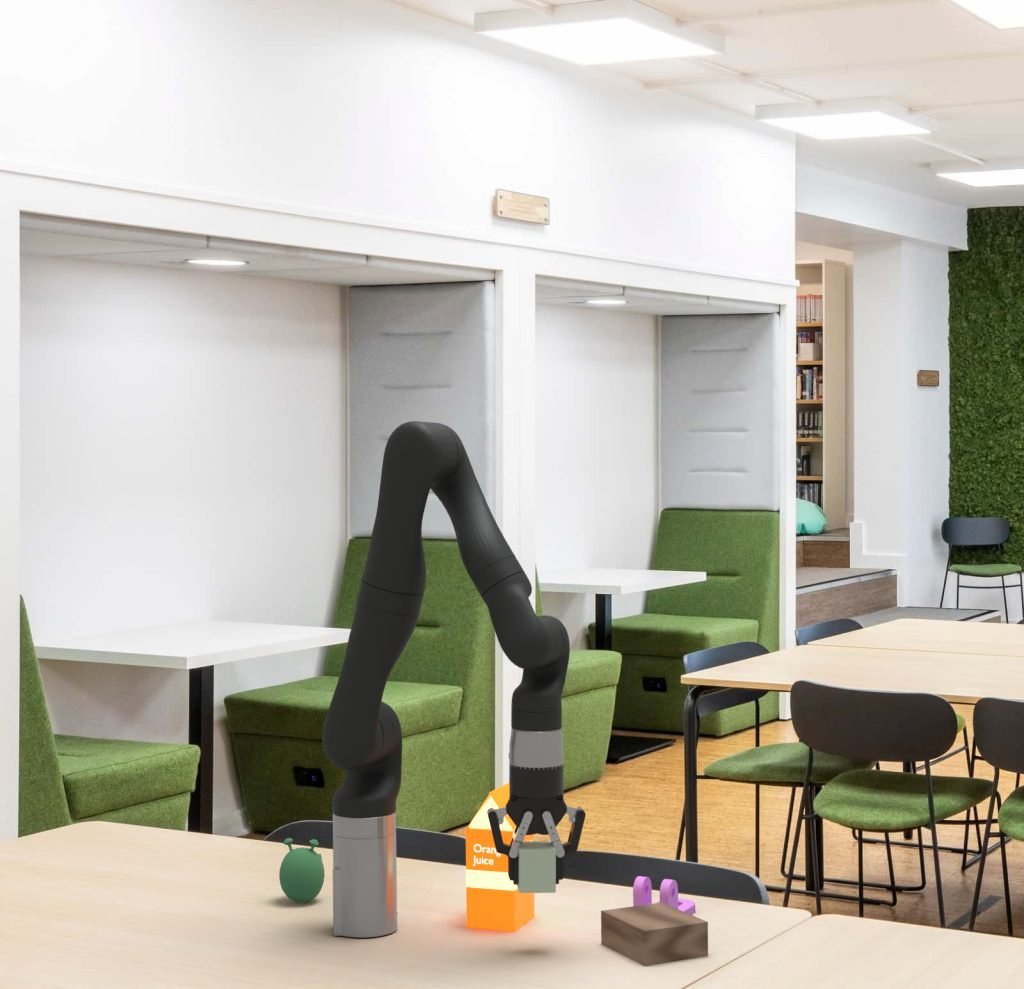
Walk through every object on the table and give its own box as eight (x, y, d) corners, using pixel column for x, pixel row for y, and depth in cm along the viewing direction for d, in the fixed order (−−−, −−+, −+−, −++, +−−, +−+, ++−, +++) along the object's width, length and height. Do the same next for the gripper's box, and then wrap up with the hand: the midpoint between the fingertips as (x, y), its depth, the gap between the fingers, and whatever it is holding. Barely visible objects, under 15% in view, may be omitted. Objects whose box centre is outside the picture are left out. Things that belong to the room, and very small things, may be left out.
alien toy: (329, 895, 257) (329, 832, 257) (319, 908, 250) (318, 843, 250) (286, 895, 258) (285, 832, 258) (274, 907, 250) (274, 842, 250)
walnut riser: (645, 968, 217) (644, 931, 217) (601, 946, 228) (601, 910, 228) (708, 958, 222) (707, 921, 222) (662, 937, 232) (661, 902, 232)
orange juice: (465, 927, 237) (464, 791, 237) (487, 912, 246) (485, 781, 246) (515, 932, 235) (514, 794, 235) (536, 917, 243) (534, 783, 243)
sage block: (519, 893, 222) (519, 849, 222) (516, 884, 227) (516, 841, 227) (555, 892, 222) (555, 849, 222) (551, 883, 227) (551, 840, 227)
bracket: (668, 931, 235) (668, 883, 235) (633, 926, 238) (632, 879, 238) (700, 909, 247) (700, 864, 247) (666, 906, 249) (666, 860, 249)
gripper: (486, 766, 220) (486, 891, 220) (591, 764, 221) (590, 889, 221) (483, 756, 228) (482, 877, 228) (584, 755, 229) (584, 875, 229)
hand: (536, 882), depth 225 cm, fingers closed on sage block, 5 cm apart
